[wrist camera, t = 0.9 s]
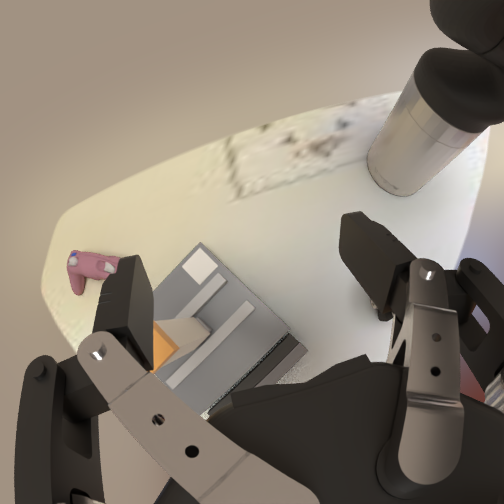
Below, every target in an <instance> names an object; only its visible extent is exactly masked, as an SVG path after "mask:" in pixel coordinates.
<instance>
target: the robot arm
mask: <svg viewBox="0 0 504 504" xmlns="http://www.w3.org/2000/svg"><path fill="white" fill-rule="evenodd" d="M430 11H431V15H432V17H433V20H434V22H435V24H436V25H437V26H438V28H439V29H440V30H441V31H442V32H443V33H444V34H445V35H446V36H448V37H449V38H450V39H452V40H453V41H455V42H456V43H458V44H460V45H461V46H463V47H465V48H466V49H468V50H457V49H450V48H433V49H430V50H428V51H426V52H425V53H424V54H423V55H422V56H421V58H420V60H419V62H418V64H417V65H416V67H415V69H414V71H413V73H412V75H411V77H410V79H409V81H408V82H407V84H406V86H405V88H404V90H403V92H402V94H401V95H400V97H399V99H398V101H397V103H396V104H395V106H394V108H393V110H392V111H391V113H390V115H389V117H388V119H387V120H386V122H385V124H384V125H383V127H382V129H381V131H380V132H379V134H378V136H377V137H376V139H375V141H374V143H373V144H372V146H371V148H370V150H369V152H368V156H367V164H368V168H369V171H370V173H371V175H372V177H373V178H374V180H375V181H376V182H377V184H378V185H379V186H380V187H382V188H383V189H384V190H386V191H387V192H389V193H391V194H394V195H397V196H409V195H412V194H414V193H415V192H417V191H418V190H419V189H420V188H421V187H423V186H424V185H425V184H426V183H427V182H429V181H430V180H431V179H432V178H433V177H434V176H435V175H437V174H438V173H439V172H440V171H441V170H442V169H443V168H444V167H446V166H447V165H448V164H449V163H450V162H451V161H452V160H453V159H454V158H456V157H457V156H458V155H459V154H460V153H461V152H462V151H463V150H464V149H465V148H466V147H468V146H469V145H470V144H471V143H472V142H473V141H474V140H475V139H476V138H477V137H478V136H479V135H480V134H481V133H482V132H483V131H484V130H485V129H486V128H487V127H488V126H490V125H495V124H499V123H502V122H504V0H430ZM339 253H340V256H341V259H342V261H343V262H344V263H345V265H346V266H347V267H348V269H349V270H350V271H351V273H352V274H353V275H354V277H355V278H356V279H357V281H358V282H359V283H360V285H361V286H362V287H363V289H364V290H365V292H366V293H367V294H368V296H369V297H370V298H371V300H372V301H373V303H374V304H375V305H376V307H377V308H378V310H379V311H380V312H381V314H384V313H387V312H390V311H393V312H394V313H395V315H394V317H393V322H392V330H391V338H390V345H389V351H388V357H387V361H386V363H385V362H370V361H369V359H368V357H367V355H366V354H364V355H361V356H358V357H356V358H353V359H350V360H347V361H344V362H341V363H338V364H336V365H334V366H332V367H331V368H329V369H328V370H326V371H324V372H323V373H321V374H319V375H318V376H316V377H314V378H313V379H311V380H309V381H307V382H305V383H296V384H275V385H263V386H259V387H255V388H250V389H246V390H241V391H237V392H232V393H230V395H231V399H232V403H229V404H227V405H225V406H224V407H222V408H220V409H219V410H217V411H216V412H215V413H213V414H212V415H211V416H210V417H209V418H208V419H207V420H204V419H203V418H202V417H201V416H199V415H198V414H197V413H196V412H195V411H194V410H192V409H191V408H190V407H189V406H188V405H187V404H185V403H184V402H183V401H182V400H181V399H180V398H179V397H178V396H176V395H175V394H174V393H173V392H172V391H171V390H170V389H169V388H168V387H167V386H166V385H164V384H163V383H162V382H161V381H160V380H159V379H158V378H157V377H156V376H155V375H154V374H153V373H152V372H150V371H151V370H154V354H153V320H154V297H153V291H152V287H151V284H150V282H149V279H148V277H147V274H146V271H145V269H144V266H143V263H142V261H141V258H140V256H139V255H133V256H129V257H124V258H120V259H119V261H118V266H117V270H116V273H113V274H109V276H108V277H107V278H106V280H105V281H104V283H103V284H102V289H101V293H100V295H101V296H100V297H99V302H98V303H99V304H98V306H97V311H96V316H95V321H94V326H93V331H92V334H90V335H89V336H87V337H86V338H85V339H84V340H83V341H82V342H81V344H80V345H79V348H78V351H77V355H75V356H73V357H71V358H69V359H66V360H64V361H62V362H60V363H57V362H56V361H55V360H54V359H53V358H52V357H50V356H47V355H43V356H40V357H38V358H36V359H34V360H33V361H32V362H31V363H30V365H29V366H28V367H27V369H26V372H25V376H24V381H23V387H22V392H21V399H20V406H19V413H18V421H17V431H16V445H15V466H14V469H15V470H14V487H15V504H106V503H105V499H104V492H103V484H102V475H101V463H100V450H99V429H98V415H99V414H102V413H104V412H106V411H109V410H112V412H113V413H114V414H115V416H116V417H117V418H118V419H119V421H120V422H121V423H122V424H123V425H124V427H125V428H126V429H127V430H128V431H129V433H130V434H131V435H132V436H133V437H134V438H135V439H136V440H137V442H138V443H139V444H140V445H141V446H142V447H143V448H144V449H145V451H146V452H147V453H148V454H149V455H150V456H151V457H152V458H153V459H154V460H155V461H156V462H157V463H158V464H159V465H160V466H161V467H162V468H163V469H164V470H165V471H166V472H167V473H168V474H169V475H170V476H171V477H170V479H169V480H168V482H167V483H166V485H165V487H164V488H163V490H162V492H161V493H160V495H159V496H158V498H157V499H156V501H155V503H154V504H504V285H503V284H502V283H501V282H500V281H499V280H498V278H496V277H495V275H494V274H493V273H492V272H491V271H490V270H489V269H488V268H487V267H486V266H485V265H484V264H483V263H482V262H480V261H478V260H476V259H472V258H465V259H463V260H461V262H460V265H459V267H458V270H444V269H443V268H442V267H441V266H440V265H439V264H438V263H436V262H435V261H433V260H430V259H425V258H419V259H417V258H416V257H415V256H414V255H413V254H412V253H411V252H410V251H409V250H408V249H407V248H406V247H405V246H404V245H403V244H402V243H401V242H400V241H398V239H397V238H396V237H395V236H394V235H392V233H391V232H390V231H389V230H388V229H387V228H385V227H384V226H383V225H381V224H379V223H377V222H375V221H371V220H370V219H369V218H368V217H367V216H366V215H365V214H364V213H363V212H361V211H358V212H353V213H347V214H343V216H342V218H341V228H340V239H339ZM476 305H478V307H479V308H480V309H481V310H482V312H483V313H484V314H485V316H486V317H487V318H488V320H489V323H490V330H489V332H488V334H486V332H485V331H484V329H483V328H482V327H481V326H480V324H479V323H478V322H477V320H476V319H475V317H474V316H473V315H472V312H473V310H474V308H475V306H476ZM460 354H461V355H462V357H463V358H464V360H465V361H466V363H467V365H468V366H469V368H470V369H471V371H472V373H473V374H474V376H475V377H476V379H477V381H478V382H479V384H480V386H481V388H482V389H483V391H484V393H485V399H486V401H485V402H484V403H483V402H480V401H478V400H475V399H473V398H471V397H469V396H466V395H464V394H462V393H460ZM147 371H148V372H147Z"/></svg>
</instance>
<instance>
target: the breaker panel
mask: <svg viewBox="0 0 504 504" xmlns="http://www.w3.org/2000/svg"><path fill="white" fill-rule="evenodd" d="M153 297H154V321H159V320H170V319H180V318H190V317H194V318H195V319H196V318H197V317H200V318H201V319H202V320H203V321H204V322H205V323H206V324H207V325H208V326H209V327H210V328H211V329H212V331H211V332H210V335H209V336H208V337H207V338H206V339H205V340H204V341H203V342H202V343H201V344H200V345H199V346H198V347H197V348H196V349H195V350H193V351H191V352H189V353H188V354H186V355H184V356H182V357H180V358H178V359H176V360H174V361H173V362H171V363H169V364H167V365H165V366H163V367H161V368H160V369H159V370H158V371H157V372H156V373H155V375H156V376H157V377H158V378H159V379H160V380H161V381H162V382H163V383H164V384H165V385H166V386H167V387H168V388H169V389H170V390H171V391H172V392H173V393H174V394H175V395H176V396H178V397H179V398H180V399H181V400H182V401H183V402H184V403H185V404H187V405H188V406H189V407H190V408H191V409H192V410H194V411H195V412H196V413H197V414H198V415H199V416H200V415H201V414H202V413H203V412H204V411H205V410H207V409H208V408H209V407H210V406H211V405H212V404H213V403H214V402H215V401H217V400H218V399H219V398H220V397H221V396H222V395H223V394H224V393H225V392H226V391H227V390H229V389H230V388H231V387H232V386H233V385H234V384H235V383H236V382H237V381H238V380H239V379H240V378H241V377H242V376H243V375H244V374H245V373H246V372H248V371H249V370H250V369H251V368H252V367H253V366H254V365H255V364H256V363H257V362H258V361H259V360H260V359H261V358H262V357H263V356H264V355H265V354H266V353H267V352H268V351H269V350H270V349H271V348H272V347H273V346H274V345H275V344H276V343H277V342H278V341H279V340H280V339H281V338H282V337H283V336H284V335H285V334H286V332H287V331H288V330H289V329H290V327H288V326H287V325H286V324H285V323H284V322H283V321H282V320H281V319H280V318H279V317H278V316H277V315H276V314H275V313H273V312H272V311H271V310H270V309H269V308H268V307H267V306H266V305H265V304H264V303H263V302H262V301H261V300H260V299H259V298H258V297H257V296H256V295H255V294H253V293H252V292H251V291H250V290H249V289H248V288H247V287H246V286H245V285H244V284H243V283H242V282H241V281H240V280H239V279H238V278H237V277H236V276H235V275H234V274H233V273H232V272H231V271H230V270H229V269H227V268H226V267H225V266H224V265H223V264H222V263H221V262H220V261H219V260H218V259H217V258H216V257H215V256H214V255H213V254H212V253H211V252H210V251H209V250H208V249H207V248H206V247H205V246H204V245H203V244H202V243H201V242H200V243H199V244H198V245H197V246H196V247H195V248H194V249H193V250H192V251H191V252H190V253H189V254H188V255H187V256H186V257H185V258H184V259H183V260H182V261H181V262H180V263H179V265H178V266H177V267H176V268H175V269H174V270H173V271H172V272H171V273H170V274H169V275H168V276H167V277H166V278H165V279H164V280H163V281H162V282H161V284H160V285H159V286H158V287H157V288H156V289H155V290H154V291H153Z"/></svg>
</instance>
